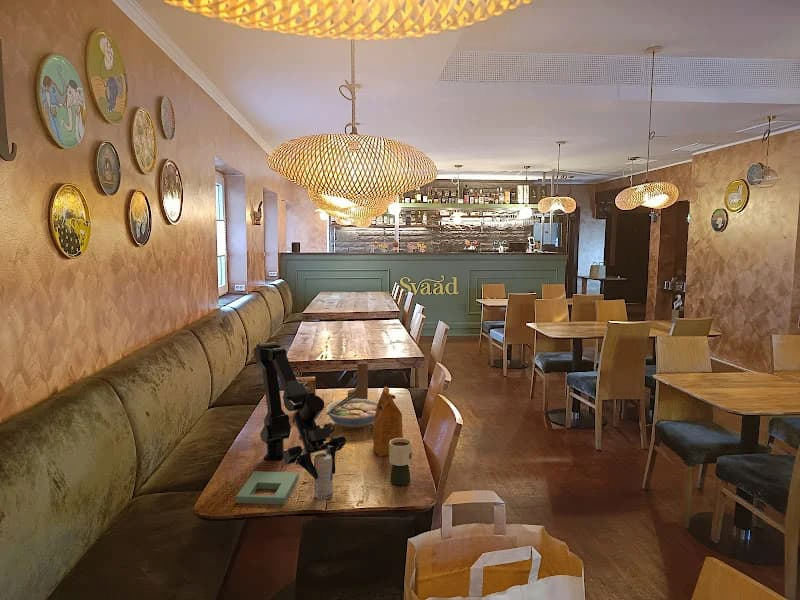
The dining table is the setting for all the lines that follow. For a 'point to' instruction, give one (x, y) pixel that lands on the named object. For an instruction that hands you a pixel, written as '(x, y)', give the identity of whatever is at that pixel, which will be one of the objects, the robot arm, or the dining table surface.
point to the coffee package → (386, 423)
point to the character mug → (400, 460)
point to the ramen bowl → (352, 412)
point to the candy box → (307, 384)
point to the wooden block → (361, 382)
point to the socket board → (268, 487)
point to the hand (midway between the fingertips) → (325, 476)
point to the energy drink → (323, 476)
